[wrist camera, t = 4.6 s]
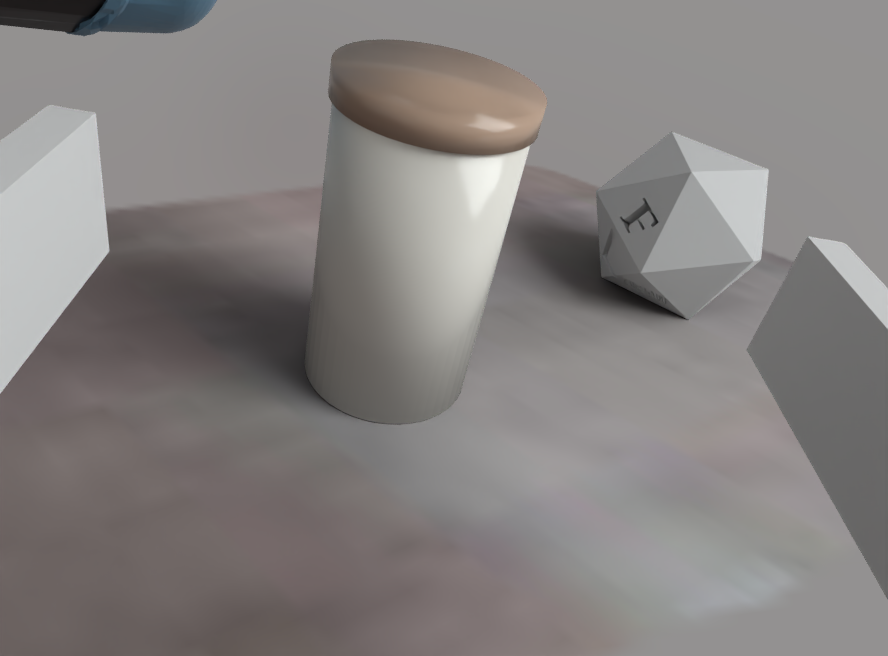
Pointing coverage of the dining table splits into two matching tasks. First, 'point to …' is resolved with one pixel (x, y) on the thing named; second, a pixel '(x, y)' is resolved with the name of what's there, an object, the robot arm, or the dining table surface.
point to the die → (681, 223)
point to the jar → (412, 221)
